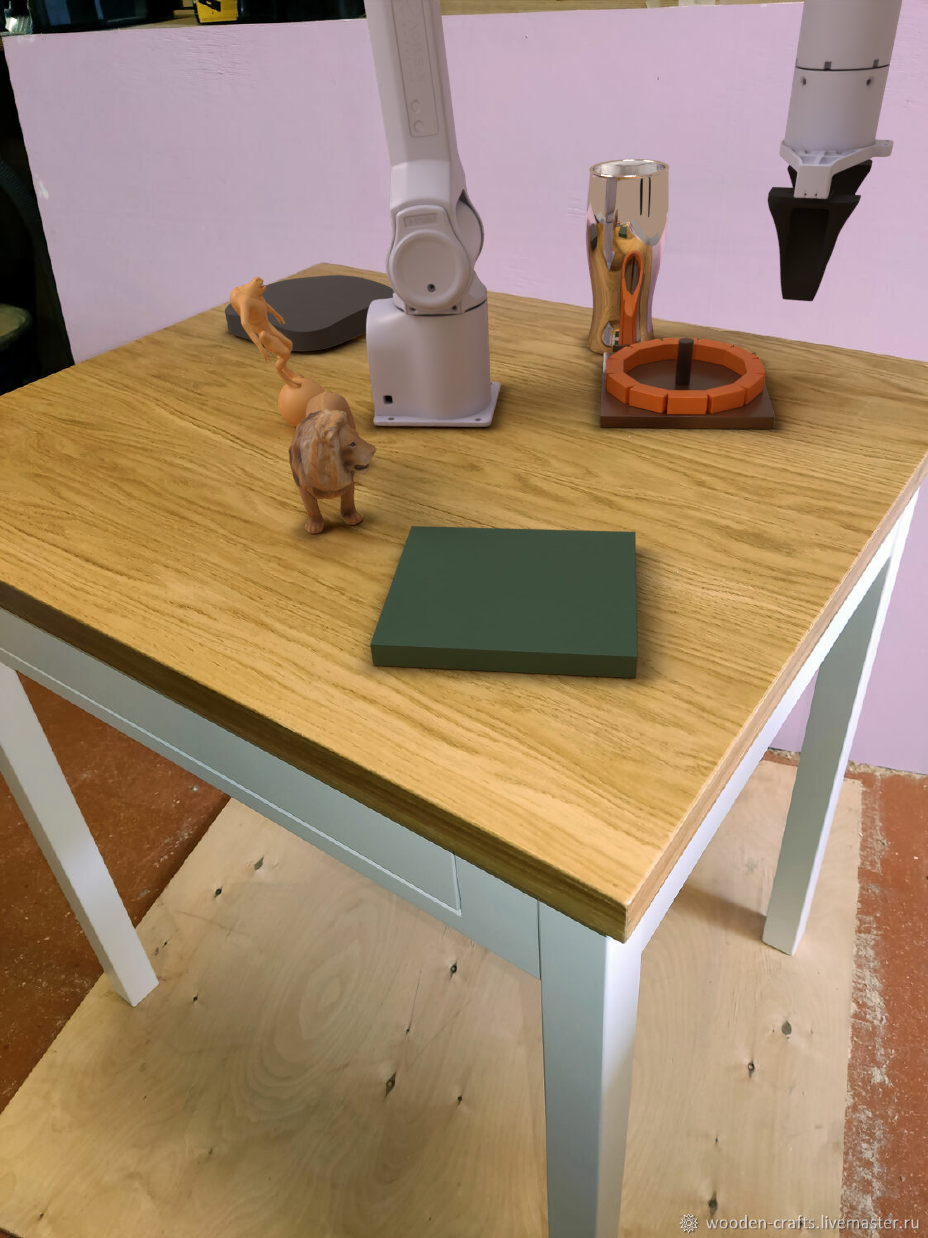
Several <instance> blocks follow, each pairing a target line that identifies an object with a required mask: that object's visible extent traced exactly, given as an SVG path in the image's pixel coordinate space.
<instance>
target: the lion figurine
mask: <svg viewBox="0 0 928 1238" xmlns="http://www.w3.org/2000/svg"><path fill="white" fill-rule="evenodd" d="M293 435H294V436H293V437H292V438H291V441H290V445H289V447H288V455H289V457H288V460H289V461H288V462H289V467H290V470H291V474H292V478H293V481H294V483H295V485H296V487H298V490H299V495H300V498H301V500H302V503H303V506H304V509H305V511H306V513H307V518H308V519H307V520H308V521H307V522H306V523H305V525H304V529H305V532H307V533H308V534H312V535H314V534H318V533H321V532H323V530H324V523H325V520H324V517H323V514H322V512H321V510H320V506H319V503H318V500H323V499H324V500H333V499H336V498H340V505H339V514H340V516H341V517H342V519H343V520H344V523H345V524H346V525H348V526H355V525H358V524H360V522H362V521H363V520H364V516H363V514H361V513H359V511H357V509H356V504H355V503H356V502H355V491H356V489H355V485H356V484H355V479H354V478H355V474H356V473H359V474H360V475H366V474H367V473H368V472H369V468H370V462H371V460H372V459H373V458H374V456H375V453H376V452H377V450H378V449H377V447H376V446H375V445H374V444H372V443H370V442H368V441H366V440H365V439H364V438H361V437H360V436H359V433H358V431H357V429H356V422H355V418H354V415H353V412H352V410H351V408H350V405H349V404H348V401H347V399H346V398H345V397H344V396H343V395H341V394H338V393H335V392H333V391H330V390H325V392H323V393H321V394H319V395H317V396H315V397H313V398H312V399H311V400H310V401H309V402H308V404H307V408H306V417H305V419H302V420H301V423H300V424H299V425H298V426H297V427H295V431H294V434H293Z"/></svg>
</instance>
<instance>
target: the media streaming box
mask: <svg viewBox="0 0 928 1238" xmlns="http://www.w3.org/2000/svg"><path fill="white" fill-rule="evenodd" d="M265 286H266V291H265V292H264V293H263V294H262V296H263V297H264V299H265V301H266V303H267V304H269V305H270V306H271V307H272V308H273V309H274V310H275V311H276V312H277V313H278V314H279V315H280V316H281V317H282V318H283V320H284V321H285V323H286V324H285V323H284V324H283V323H282V322H281V321H280V322H281V324H280V323H279V321H278V320H277V319H276V317H275V316H274V315H273V314H272V313H270V312H268V311H267V316H268V322H270V323H271V325H272V326H274V327H275V329H276V330H278V331H279V332H280V333H282V334H283V335H284V336H285V337H286V338H288V339H289V340H291V342H292V344H293V347H292V351H293V352H312V351H320V350H325V349H328V348H329V349H330V348H332V347H336V346H337V345H341V344H343V343H346V342H348V341H349V340H352V339H354V338H357V337H359V336H361V335H363V334H366V322H367V314H368V309H369V306H370V304H371V302H372V301H374V300H378V299H388V298H393V293H394V291H393V289H392V287H391V286H388V285H386V284H385V283H381V282H378V281H375V280H372V279H368V278H364V277H358V276H354V275H345V274H344V275H342V274H341V275H340V274H331V275H330V274H329V275H318V276H306V277H305V276H304V277H297V278H289V279H285V280H280V281H276V282H273V283H269V284H266V285H265ZM224 314H225V319H226V324H227V329H228V332H229V333H230V334H232V335H233V336H236V337H240V338H243V339H246V340H250V341H252V339H251V338H250V336H249V335H248V334H247V332H246V331H245V329H244V328H243V326H242V324H241V317H240V315H239V314H238V313H237V312H236V311H235V309H234V308H233V306H232V304H231V302H230V303H229V304H228V305H227V306H226V307H225V309H224ZM254 333H255V332H254ZM255 334H256V333H255ZM256 335H257V336H258V334H256ZM258 338H259V336H258ZM292 351H291V352H292Z"/></svg>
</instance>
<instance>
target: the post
mask: <svg viewBox="0 0 928 1238" xmlns="http://www.w3.org/2000/svg"><path fill="white" fill-rule="evenodd" d="M680 338H681V339H679V342H678V353H677V360H660V361H656V362H651V363H646V364H642V365H637V366H636V367H634V368H633V369H632V370H630V371H629V372H627V373H626V374H627V375H628V376H630V377H631V378H633V379H634V380H636V381H637V382H639V383H640V384H644V385H649V386H653V387H657V388H662V389H666V390H708V389H712V388H717V387H721V386H725V385H730V384H733V383H735V382H736V381H737V380H738V379H740V378H741V377H742V376H741V375H740V374H738V373H736V372H734V371H733V370H731V369H729V368H727V367H726V366H724V365H719V364H715V363H710V362H705V361H700V360H695V359H692V357H693V347H694V340H693V339H691V338H692V337H680ZM749 352H750V351H749ZM750 353H752V354H754V355H756V356H758V355H757V352H752V351H751V352H750ZM613 354H615V353H603V355H602V371H601V372H602V375H601V392H600V393H601V395H600V413H599V418H600V419H599V428H604V429H605V428H606V429H607V428H614V429H615V428H617V429H620V428H621V429H624V428H625V429H708V430H709V429H711V430H712V429H713V430H714V429H716V430H717V429H719V430H720V429H721V430H725V429H726V430H774V427H775V422H776V415H775V412H774V409H773V405H772V402H771V399H770V395H769V392H768V389H767V386H766V382H765V381H764V387H763V389H762V392H761V393H760V394H759V395H757V396H756V397H755V398H754V399H753V400H752V401H750V402H749V403H748V404H743V406H742V407H738V408H734V409H730V410H725V411H721V412H717V413H713V414H711V413H709V412H708V411H706V414H705V415H698V414H667V410H665V411H664V412H663V413H658V412H654V411H650V410H646V409H641V408H637V407H633V406H630V405H629V403H627V404H624V403H623V402H621V401H620V400H619V399H617V398H616V397H615V396H613V395H612V394H610V393H609V392H608V391H607V389H606V388H605V385H606V361H607V359H608V358H609V357H610V356H611V355H613Z"/></svg>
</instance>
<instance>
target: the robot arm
mask: <svg viewBox="0 0 928 1238" xmlns="http://www.w3.org/2000/svg"><path fill="white" fill-rule="evenodd" d="M363 3H364V4H363V5H364V9H365V15H366V16H365V17H366V22H367V28H368V34H369V42H370V47H371V54H372V59H373V65H374V72H375V78H376V84H377V91H378V96H379V102H380V110H381V114H382V121H383V127H384V133H385V139H386V144H387V152H388V158H389V165H390V181H389V182H390V185H389V186H390V187H389V199H388V200H389V202H388V203H389V205H388V206H389V207H388V210H389V216H390V222H391V237H390V241H389V245H388V248H387V251H386V254H385V272H386V277H387V280H388V283H389V285H390V288H392V289H393V291H394V293H393V298H388V299H378V300H374V301H372V302H371V304H370V306H369V309H368V314H367V322H366V333H365V343H366V355H367V362H368V369H369V378H370V385H371V387H370V388H371V394H372V402H373V403H372V404H373V410H374V417H373V425H374V426H376V427H377V426H378V427H453V428H454V427H457V428H458V427H463V428H465V427H466V428H469V427H470V428H473V427H474V428H482V427H483V428H486V427H490V426H491V425H492V422H493V418H494V415H495V411H496V407H497V403H498V400H499V396H500V393H501V387H502V386H501V382H499V381H491V359H490V358H491V356H490V335H489V329H490V328H489V309H488V288H487V286H486V285H485V284H484V283H483V282H482V281H481V279H480V278H479V277H478V274H477V273H476V270H475V265H476V262H477V261H478V259H479V257H480V255H481V253H482V252H483V248H484V243H485V228H484V224H483V220H482V218H481V216H480V214H479V212H478V210H477V209H476V207H475V206H474V204H473V202H472V200H471V198H470V195H469V192H468V188H467V181H466V174H465V169H464V167H463V164H462V160H461V157H460V154H459V149H458V141H457V133H456V132H457V131H456V123H455V116H454V108H453V100H452V92H451V83H450V75H449V66H448V58H447V51H446V42H445V33H444V25H443V17H442V9H441V0H363ZM902 4H903V0H803V7H802V14H801V21H800V27H799V36H798V41H797V42H798V43H797V49H796V56H795V64H794V69H793V77H792V81H791V82H792V83H791V90H790V98H789V105H788V112H787V118H786V126H785V131H784V138H783V140H782V141H780V146H779V156H780V158H781V159H783V160H784V161H785V162H786V163H787V164H788V166H787V173H788V175H789V180H790V182H791V186H792V187H788V186H772V187H771V189H770V190H769V192H768V194H767V206H768V210H769V212H770V215H771V217H772V221H773V224H774V227H775V231H776V236H777V237H776V238H777V241H778V250H779V251H778V253H779V276H780V277H779V278H780V281H779V282H780V290H781V291H780V292H781V297H782V300H786V301H800V302H813V301H814V300H815V297H816V296H817V294H818V291H819V289H820V286H821V284H822V281H823V278H824V275H825V272H826V269H827V266H828V263H829V262H830V259H831V257H832V255H833V252H834V250H835V246H836V243H837V241H838V237H839V235H840V234H841V231H842V229H844V226H845V224H846V223H847V221H848V220H849V218H850V217H851V215H852V214H853V213H854V211H855V210H856V208H857V206H859V203H860V201H861V198H862V195H861V194H857V192H858V190H859V188H860V187H861V185H862V184H863V182H864V181H865V180H866V177H867V176H868V175H869V174H870V172H871V170H872V167H873V162H874V161H873V160H872V158H886V157H891V156H892V153H893V148H894V144H895V142H894V141H893V140H891V139H877V138H876V137H877V132H878V128H879V127H878V126H879V121H880V116H881V110H882V107H883V106H882V105H883V101H884V96H885V91H886V85H887V81H888V76H889V71H890V67H891V66H890V65H891V62H892V61H891V60H892V56H893V50H894V47H895V40H896V36H897V30H898V25H899V20H900V15H901V10H902Z"/></svg>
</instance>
